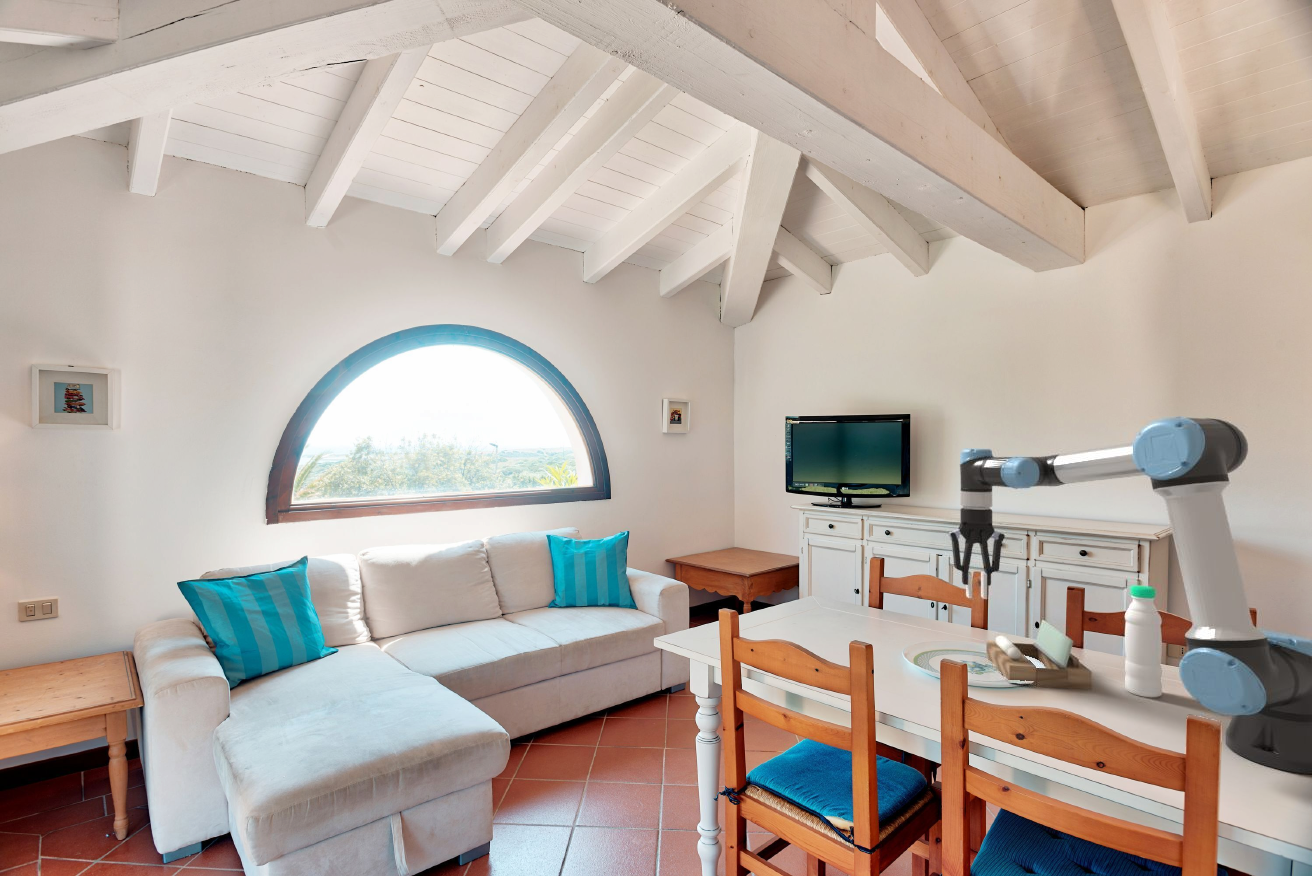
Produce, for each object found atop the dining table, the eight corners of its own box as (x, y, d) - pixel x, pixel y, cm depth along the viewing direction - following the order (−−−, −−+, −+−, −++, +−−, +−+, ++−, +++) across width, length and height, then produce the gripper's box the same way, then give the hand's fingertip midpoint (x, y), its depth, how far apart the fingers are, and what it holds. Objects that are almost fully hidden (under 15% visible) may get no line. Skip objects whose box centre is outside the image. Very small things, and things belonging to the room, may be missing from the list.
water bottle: (1168, 699, 152) (1168, 590, 153) (1133, 697, 154) (1133, 589, 154) (1152, 688, 159) (1151, 584, 160) (1119, 686, 161) (1118, 583, 161)
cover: (1060, 669, 161) (1064, 670, 161) (1068, 639, 160) (1073, 641, 160) (1032, 645, 179) (1036, 646, 179) (1040, 619, 179) (1044, 620, 179)
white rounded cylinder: (1022, 661, 165) (1022, 649, 165) (1009, 660, 166) (1009, 648, 166) (1006, 645, 178) (1006, 634, 178) (994, 645, 179) (994, 634, 179)
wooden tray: (1092, 690, 158) (1092, 663, 158) (1010, 684, 162) (1010, 658, 162) (1058, 661, 179) (1058, 638, 179) (985, 656, 183) (985, 634, 183)
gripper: (1005, 506, 176) (1005, 595, 176) (940, 505, 179) (940, 592, 179) (1014, 509, 168) (1014, 602, 168) (946, 508, 172) (946, 599, 171)
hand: (976, 597), depth 173 cm, fingers open, 3 cm apart
